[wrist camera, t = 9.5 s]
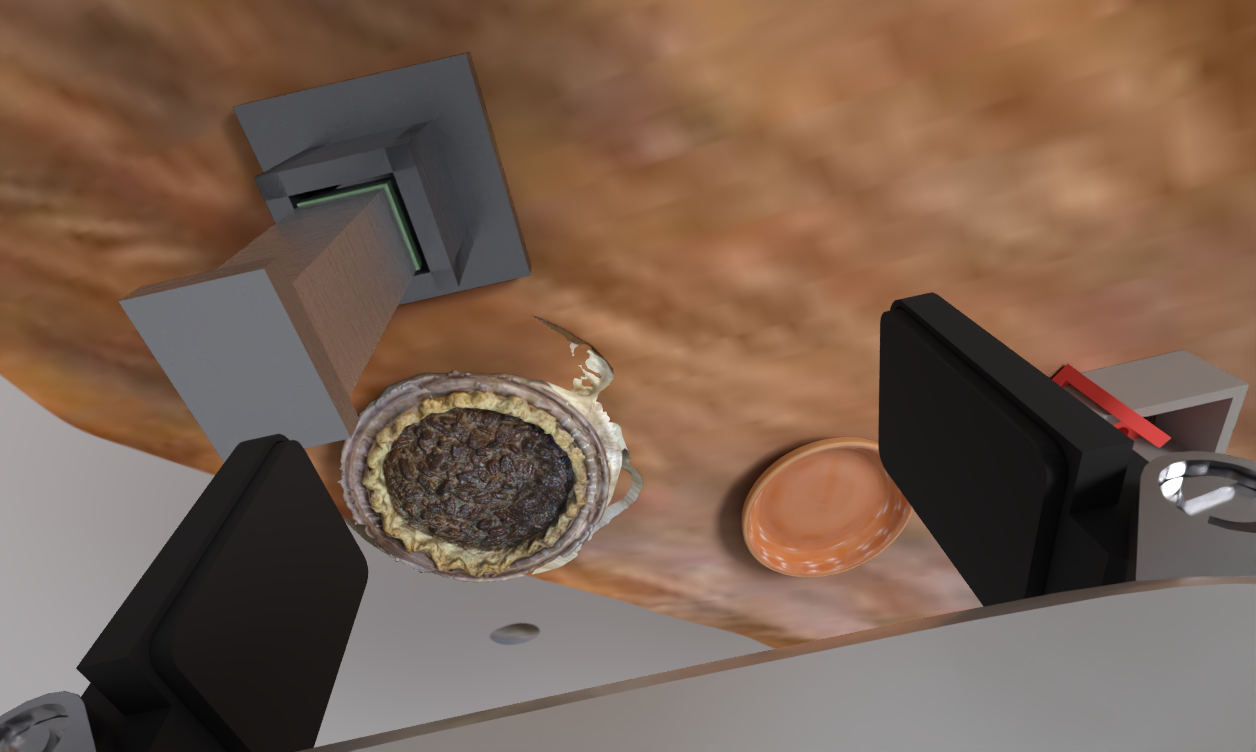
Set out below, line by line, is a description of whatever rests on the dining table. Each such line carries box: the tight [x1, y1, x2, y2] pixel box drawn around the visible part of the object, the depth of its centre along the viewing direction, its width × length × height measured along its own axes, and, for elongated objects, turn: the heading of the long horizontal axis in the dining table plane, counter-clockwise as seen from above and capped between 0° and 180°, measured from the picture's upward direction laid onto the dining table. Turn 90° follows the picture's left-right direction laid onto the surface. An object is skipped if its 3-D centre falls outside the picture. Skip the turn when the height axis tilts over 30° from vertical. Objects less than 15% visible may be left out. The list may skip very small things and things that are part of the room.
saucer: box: [742, 437, 913, 577], centre depth 59 cm, size 16×16×3 cm
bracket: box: [1051, 364, 1171, 448], centre depth 55 cm, size 12×4×8 cm, turn 58°
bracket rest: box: [1062, 350, 1249, 462], centre depth 56 cm, size 9×16×6 cm, turn 101°
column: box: [119, 176, 424, 463], centre depth 28 cm, size 6×5×17 cm
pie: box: [338, 316, 643, 582], centre depth 52 cm, size 28×27×5 cm
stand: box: [233, 52, 531, 305], centre depth 38 cm, size 14×14×11 cm
